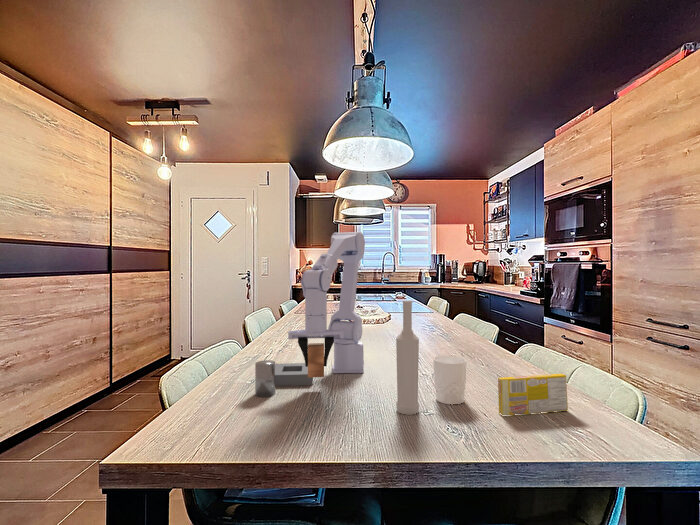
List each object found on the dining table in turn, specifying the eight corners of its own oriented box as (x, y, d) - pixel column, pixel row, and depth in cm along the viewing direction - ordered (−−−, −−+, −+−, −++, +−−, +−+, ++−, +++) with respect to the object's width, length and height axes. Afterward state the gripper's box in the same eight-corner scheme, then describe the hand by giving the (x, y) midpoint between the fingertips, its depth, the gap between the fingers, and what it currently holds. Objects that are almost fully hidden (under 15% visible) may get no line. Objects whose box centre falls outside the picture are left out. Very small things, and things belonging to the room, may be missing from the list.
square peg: (323, 372, 100) (323, 343, 100) (324, 377, 96) (324, 346, 96) (308, 372, 100) (308, 343, 100) (307, 377, 95) (307, 346, 95)
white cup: (468, 397, 92) (468, 357, 92) (464, 408, 85) (464, 364, 85) (437, 392, 95) (436, 354, 95) (430, 402, 88) (430, 361, 88)
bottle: (420, 408, 85) (420, 300, 85) (417, 416, 80) (417, 302, 80) (398, 405, 86) (398, 299, 87) (393, 413, 82) (393, 301, 82)
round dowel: (276, 390, 97) (276, 360, 97) (273, 397, 92) (273, 365, 92) (257, 390, 97) (257, 360, 97) (253, 397, 92) (253, 365, 92)
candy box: (561, 408, 85) (561, 372, 85) (568, 412, 83) (568, 375, 83) (497, 413, 82) (497, 376, 82) (503, 417, 80) (502, 379, 80)
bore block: (313, 372, 113) (313, 362, 113) (312, 385, 101) (312, 374, 101) (274, 373, 112) (274, 363, 112) (268, 386, 100) (268, 375, 101)
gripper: (287, 316, 93) (287, 370, 93) (344, 316, 94) (344, 369, 94) (289, 313, 100) (289, 363, 100) (342, 312, 101) (342, 361, 101)
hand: (316, 365), depth 98 cm, fingers closed on square peg, 4 cm apart
